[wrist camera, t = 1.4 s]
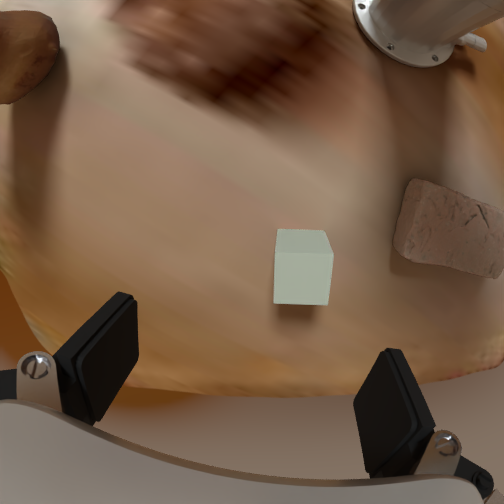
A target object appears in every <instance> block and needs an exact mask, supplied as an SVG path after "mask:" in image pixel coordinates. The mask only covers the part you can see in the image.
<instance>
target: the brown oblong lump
mask: <svg viewBox="0 0 504 504" xmlns="http://www.w3.org/2000/svg"><path fill="white" fill-rule="evenodd" d="M59 50H60V41H59V34H58V31H57V27H56V25H55V24H54V22H53V20H52V18H51V17H49V16H47V15H45V14H43V13H41V12H37V11H26V10H23V11H4V12H1V11H0V104H11V103H13V102H16V101H17V100H19V99H21V98H22V97H24V96H25V95H26V94H27V93H28V92H30V91H31V90H32V89H33V88H35V87H36V86H37V85H38V84H39V83H40V82H41V81H42V80H43V79H44V78H45V77H46V76H47V75H48V73H49V71H50V69H51V67H52V65H53V64H54V63H55V60H56V55H57V52H58V51H59Z"/></svg>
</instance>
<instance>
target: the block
mask: <svg viewBox="0 0 504 504" xmlns="http://www.w3.org/2000/svg"><path fill="white" fill-rule="evenodd" d="M333 257H334V254H333V251H332V249H331V246H330V244H329V241H328V239H327V236H326V234H325V231H322V230H297V229H278V231H277V240H276V248H275V271H274V303H277V304H303V305H328V299H329V292H330V284H331V275H332V266H333Z"/></svg>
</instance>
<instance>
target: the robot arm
mask: <svg viewBox="0 0 504 504" xmlns="http://www.w3.org/2000/svg"><path fill="white" fill-rule="evenodd" d="M353 12H354V15H355V19H356V21H357V23H358V25H359V27H360V29H361V30H362V31H363V33H364V34H365V36H366V37H367V38H368V39H369V40H370V41H371V42H372V43H373V44H374V45H375V46H376V47H377V48H378V49H379V50H381V51H382V52H383V53H385V54H386V55H388V56H389V57H391V58H392V59H395V60H397V61H399V62H401V63H403V64H406V65H409V66H413V67H420V68H427V67H433V66H437V65H439V64H441V63H443V62H444V61H446V60H447V59H448V58H449V57H450V55H451V54H452V52H453V49H454V46H455V45H456V44H458V45H460V46H464V45H468V46H469V47H471V48H474V49H476V50H478V51H480V52H485V50H486V47H487V44H486V41H485V40H484V39H483V38H481V37H479V36H477V35H475V34H472V33H470V32H472V31H474V30H476V29H478V28H480V27H483V26H485V25H487V24H489V23H491V22H493V21H496V20H498V19H500V18H502V17H504V0H353ZM387 47H388V48H389V49H390V50H389V49H388V48H387ZM138 357H139V346H138V318H137V301H136V300H134V298H133V296H132V295H129V294H126V293H123V292H117V293H116V294H115V295H114V296H113V297H112V298H111V299H110V300H108V301H107V302H106V303H105V304H104V305H103V306H102V307H101V308H100V309H99V310H98V311H97V312H96V313H95V314H94V315H93V316H92V317H91V318H90V319H89V320H87V321H86V322H85V323H84V324H83V325H82V326H81V327H80V328H79V329H78V330H77V331H76V332H75V333H74V334H73V335H72V336H71V337H70V338H69V339H68V341H67V342H66V343H65V344H64V345H63V346H62V347H61V348H60V349H59V350H58V351H57V352H56V353H55V354H54V355H53V356H52V357H51V356H50V355H48V354H47V353H44V352H31V353H28V354H26V355H25V356H23V357H22V358H21V359H20V361H19V362H18V365H17V369H11V370H3V371H0V504H504V496H503V495H502V494H501V493H500V492H499V491H498V490H497V489H495V490H494V491H493V487H494V482H493V478H492V476H491V475H490V473H489V472H487V471H486V470H485V469H483V468H481V467H479V466H478V465H476V464H474V463H473V462H471V461H469V460H468V459H466V458H464V457H463V456H461V450H462V446H461V443H460V441H459V439H458V438H457V436H456V435H455V434H453V433H452V432H450V431H447V430H439V431H437V432H434V429H433V428H434V427H435V426H436V425H435V422H434V420H433V418H432V415H431V413H430V410H429V408H428V406H427V404H426V401H425V399H424V397H423V395H422V392H421V390H420V388H419V386H418V384H417V381H416V379H415V377H414V375H413V373H412V371H411V369H410V367H409V365H408V363H407V361H406V359H405V357H404V355H403V353H402V351H401V350H400V349H393V348H386V349H385V350H384V351H382V352H380V354H379V356H378V358H377V360H376V362H375V363H374V365H373V367H372V369H371V371H370V373H369V374H368V376H367V378H366V380H365V381H364V383H363V385H362V386H361V388H360V390H359V392H358V393H357V395H356V397H355V399H354V402H353V406H354V411H355V415H356V421H357V426H358V431H359V436H360V442H361V447H362V453H363V458H364V464H365V470H366V472H367V473H369V475H370V479H353V480H352V479H351V480H321V479H320V480H319V479H299V478H286V477H276V476H267V475H259V474H252V473H245V472H239V471H234V470H228V469H223V468H218V467H214V466H209V465H205V464H201V463H197V462H193V461H188V460H185V459H181V458H178V457H174V456H171V455H167V454H164V453H161V452H158V451H155V450H152V449H149V448H146V447H143V446H140V445H138V444H135V443H132V442H129V441H127V440H124V439H122V438H119V437H117V436H114V435H111V434H109V433H107V432H104V431H102V430H100V429H97V428H95V427H93V425H94V423H95V422H96V421H98V422H99V421H100V420H101V419H102V418H103V416H104V414H105V412H106V411H107V409H108V408H109V406H110V404H111V403H112V401H113V400H114V398H115V396H116V395H117V393H118V391H119V390H120V388H121V387H122V385H123V383H124V382H125V380H126V379H127V377H128V375H129V374H130V372H131V371H132V369H133V368H134V366H135V364H136V363H137V361H138Z"/></svg>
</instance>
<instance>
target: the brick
mask: <svg viewBox="0 0 504 504" xmlns="http://www.w3.org/2000/svg"><path fill="white" fill-rule="evenodd" d="M393 246H394V248H395V249H396V250H397V252H399V254H400V255H401V256H403V257H405V258H407V259H409V260H410V261H412V262H416V263H423V264H433V265H441V266H448V267H450V268H453V269H456V270H460V271H463V272H468V273H471V274H474V275H479V276H483V277H486V278H493V279H495V278H498V276H499V275H500V274H501V272H502V270H503V268H504V211H502V210H500V209H498V208H496V207H493V206H490V205H488V204H485V203H481V202H479V201H476V200H474V199H471V198H469V197H467V196H465V195H463V194H461V193H459V192H457V191H454V190H452V189H449V188H447V187H444V186H441V185H438V184H435V183H433V182H430V181H426V180H421V179H412V180H411V181H410V182H409V184H408V186H407V188H406V191H405V195H404V198H403V202H402V207H401V212H400V215H399V217H398V220H397V223H396V232H395V234H394V238H393Z"/></svg>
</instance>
